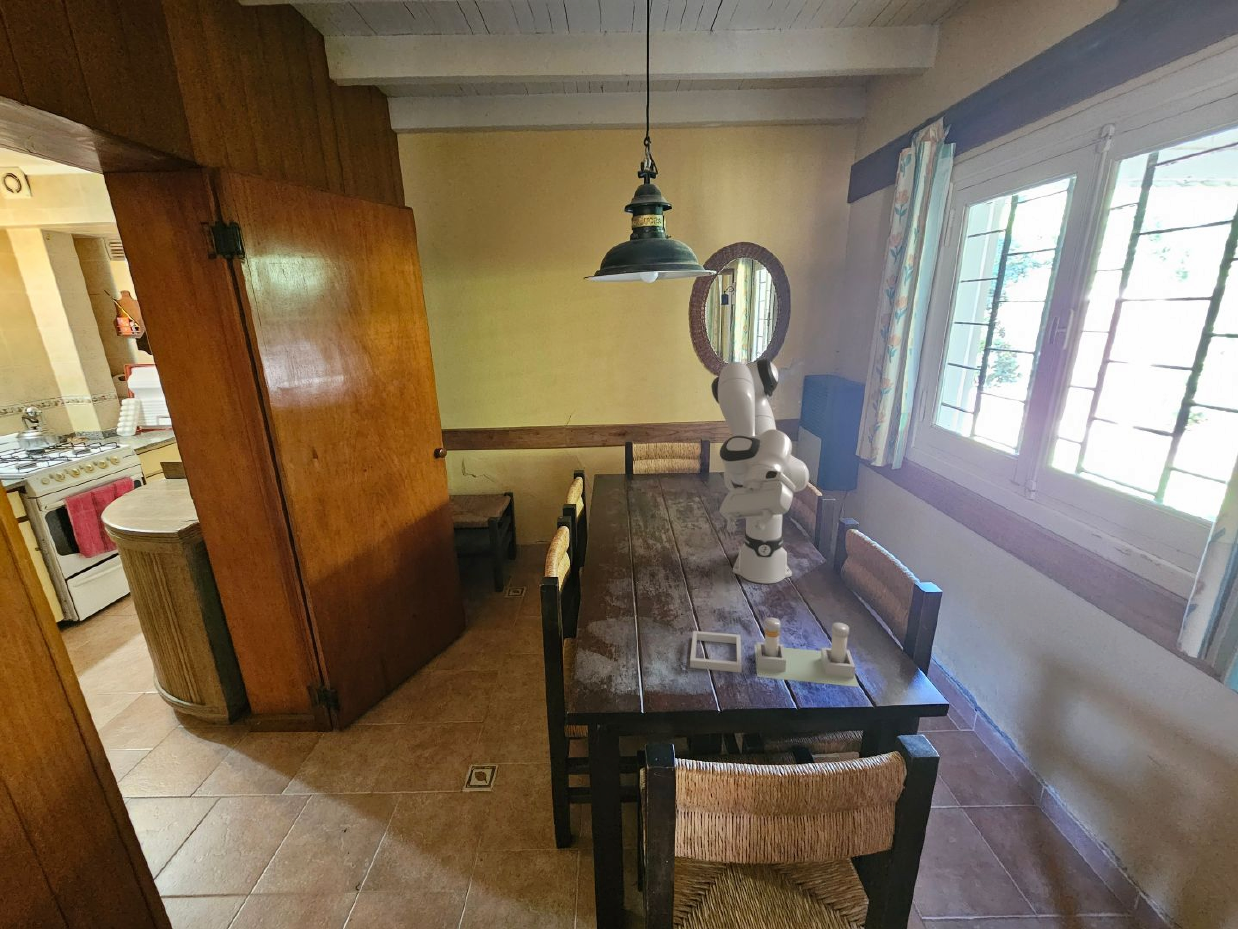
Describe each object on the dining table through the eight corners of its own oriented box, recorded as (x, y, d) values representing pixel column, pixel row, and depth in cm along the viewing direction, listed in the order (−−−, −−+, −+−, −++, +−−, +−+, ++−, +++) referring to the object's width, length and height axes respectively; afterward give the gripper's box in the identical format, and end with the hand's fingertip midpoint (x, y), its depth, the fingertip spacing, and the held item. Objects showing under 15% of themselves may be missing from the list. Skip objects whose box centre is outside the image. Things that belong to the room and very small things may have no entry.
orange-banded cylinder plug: (762, 656, 124) (764, 616, 121) (777, 657, 123) (779, 618, 120) (763, 665, 121) (765, 625, 118) (779, 667, 120) (781, 626, 117)
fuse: (827, 662, 121) (830, 622, 118) (843, 663, 120) (847, 623, 117) (830, 672, 118) (833, 631, 115) (846, 673, 117) (850, 632, 114)
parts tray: (693, 640, 133) (693, 630, 132) (740, 645, 130) (740, 634, 129) (690, 671, 121) (690, 660, 121) (741, 676, 119) (741, 665, 118)
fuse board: (754, 648, 129) (754, 634, 128) (846, 656, 124) (848, 642, 123) (757, 680, 117) (757, 665, 116) (858, 690, 113) (860, 675, 112)
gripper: (724, 482, 137) (706, 525, 131) (786, 470, 120) (768, 519, 114) (739, 495, 139) (722, 538, 133) (801, 486, 122) (785, 534, 116)
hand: (744, 529), depth 123 cm, fingers open, 8 cm apart
